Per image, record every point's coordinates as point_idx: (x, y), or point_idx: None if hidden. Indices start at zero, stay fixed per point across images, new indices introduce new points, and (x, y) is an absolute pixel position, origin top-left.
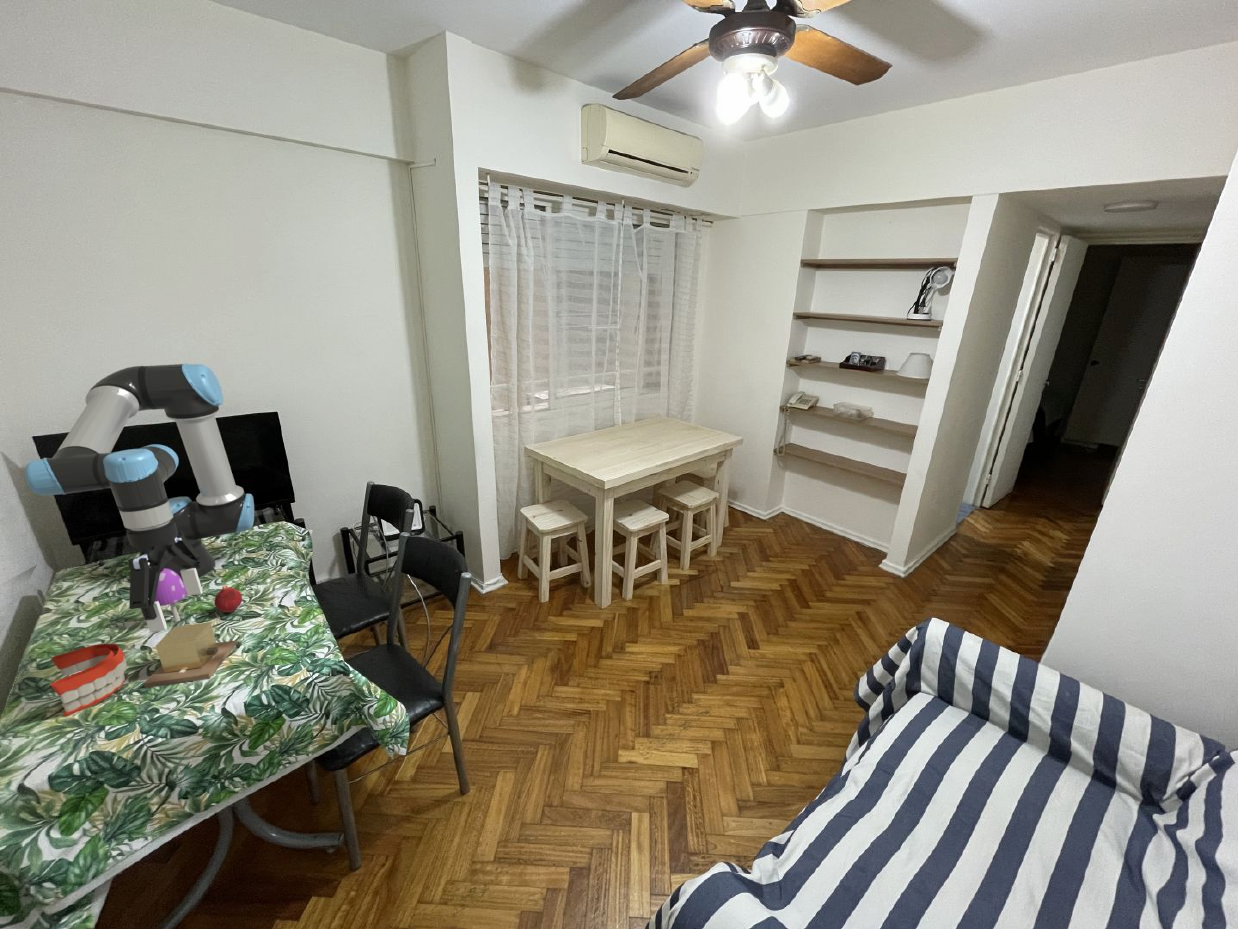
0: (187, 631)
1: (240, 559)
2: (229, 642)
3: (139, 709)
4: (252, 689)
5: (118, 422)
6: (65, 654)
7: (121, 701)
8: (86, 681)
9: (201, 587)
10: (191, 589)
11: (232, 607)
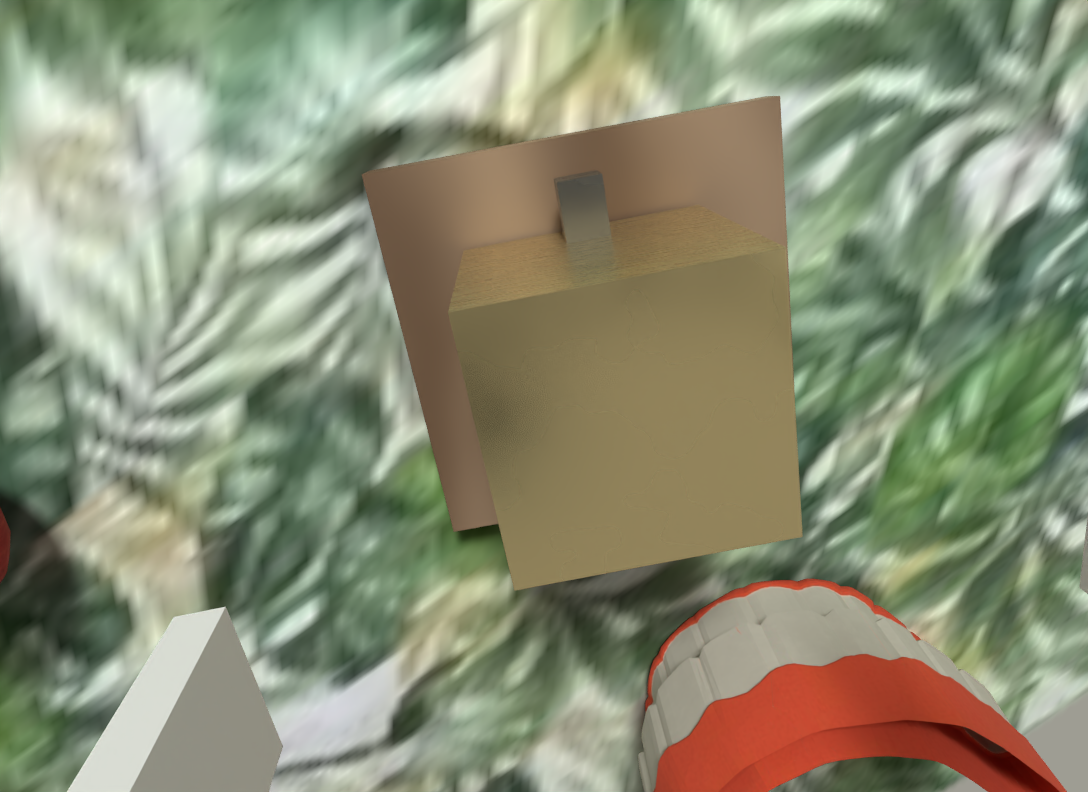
0: (609, 423)
1: None
2: (388, 207)
3: (975, 345)
4: None
5: None
6: None
7: (875, 492)
8: (978, 702)
9: (134, 682)
10: (231, 773)
11: None
